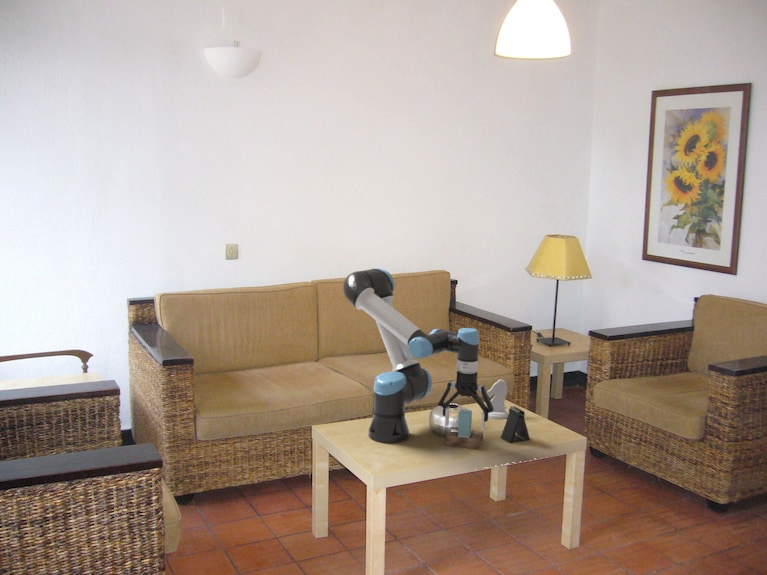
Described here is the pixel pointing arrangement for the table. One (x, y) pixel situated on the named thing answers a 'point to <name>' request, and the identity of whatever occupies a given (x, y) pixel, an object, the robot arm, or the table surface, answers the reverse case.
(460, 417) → the peg
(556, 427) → the table surface
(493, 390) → the chess piece
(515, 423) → the picture frame
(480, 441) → the board
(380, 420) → the robot arm
